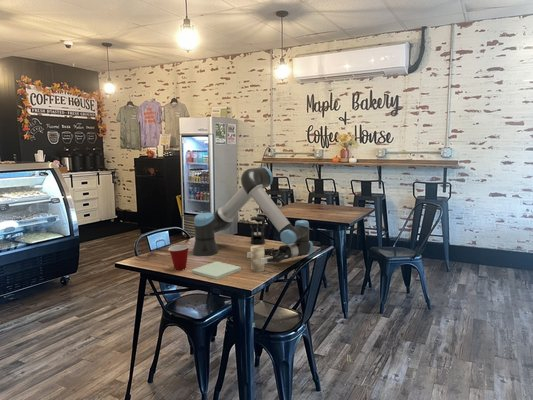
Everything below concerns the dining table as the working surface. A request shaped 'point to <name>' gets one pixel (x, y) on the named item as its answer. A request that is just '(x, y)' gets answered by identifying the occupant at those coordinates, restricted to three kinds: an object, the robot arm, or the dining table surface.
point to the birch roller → (257, 258)
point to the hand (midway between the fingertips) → (254, 258)
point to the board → (216, 270)
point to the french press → (257, 239)
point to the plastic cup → (179, 256)
